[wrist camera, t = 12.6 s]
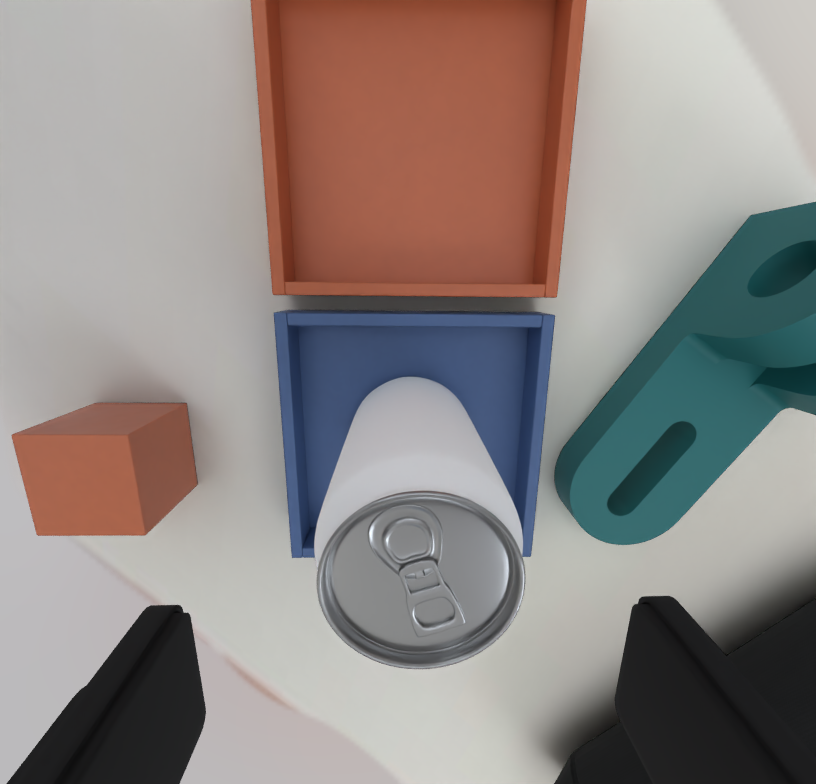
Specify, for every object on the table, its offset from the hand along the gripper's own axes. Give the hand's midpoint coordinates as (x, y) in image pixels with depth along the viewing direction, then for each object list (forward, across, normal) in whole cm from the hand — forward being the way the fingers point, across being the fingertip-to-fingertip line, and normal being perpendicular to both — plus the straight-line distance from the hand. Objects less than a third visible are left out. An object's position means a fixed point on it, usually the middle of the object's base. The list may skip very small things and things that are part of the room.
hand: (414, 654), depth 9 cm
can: (+14, 0, 0) cm, 14 cm away
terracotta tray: (+15, -1, -14) cm, 20 cm away
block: (+15, +14, +2) cm, 21 cm away
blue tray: (+15, -1, 0) cm, 15 cm away
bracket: (+15, -16, -2) cm, 21 cm away
